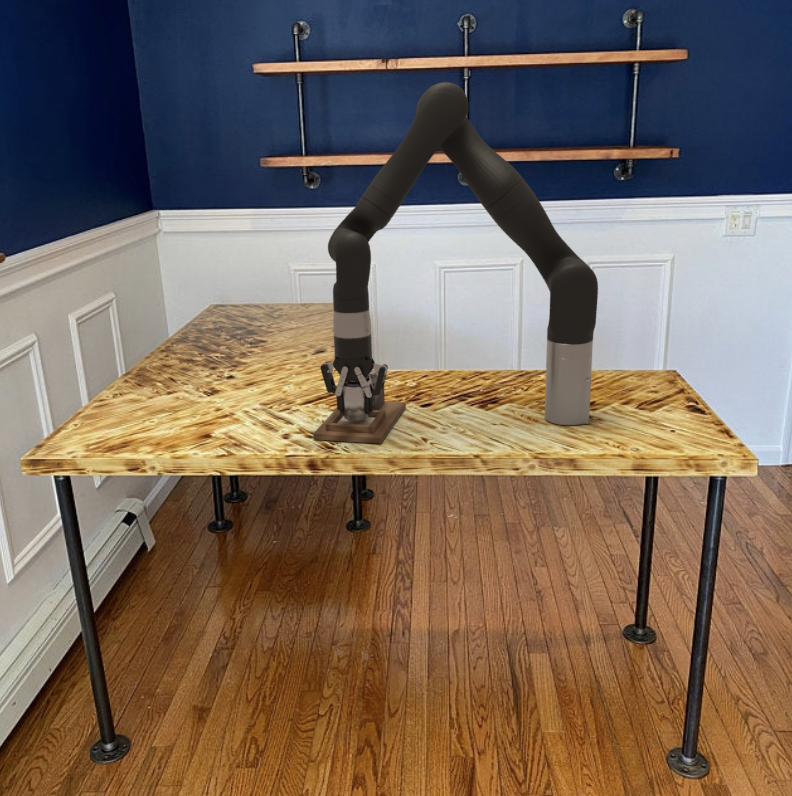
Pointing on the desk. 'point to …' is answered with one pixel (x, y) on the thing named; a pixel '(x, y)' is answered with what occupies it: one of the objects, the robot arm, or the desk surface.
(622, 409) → the desk surface
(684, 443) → the desk surface
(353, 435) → the dock
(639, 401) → the desk surface
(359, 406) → the lens
